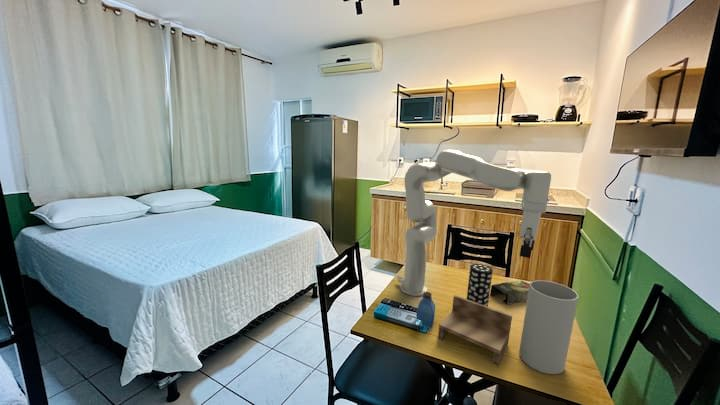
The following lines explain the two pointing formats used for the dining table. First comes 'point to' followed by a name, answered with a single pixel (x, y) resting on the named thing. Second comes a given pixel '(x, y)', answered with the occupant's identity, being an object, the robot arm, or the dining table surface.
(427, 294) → the perfume bottle
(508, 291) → the juice carton
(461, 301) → the brown wooden bench
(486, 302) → the spotted tube
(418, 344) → the dining table surface
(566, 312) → the cylinder vase
